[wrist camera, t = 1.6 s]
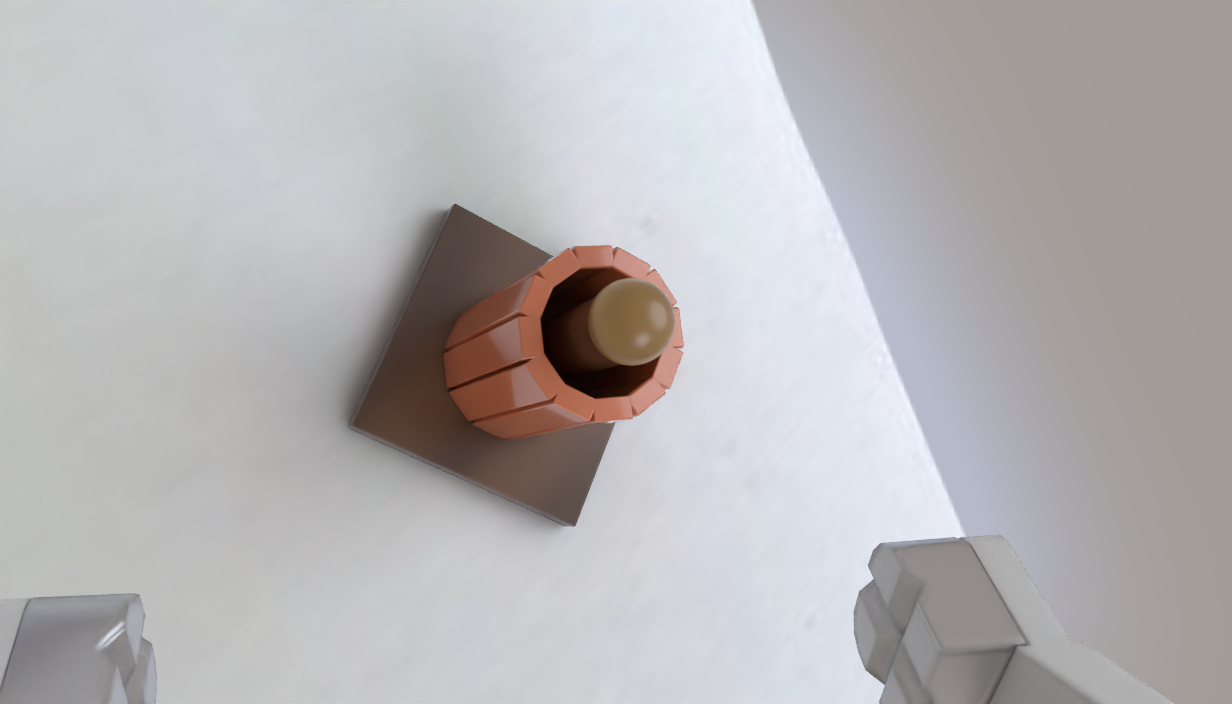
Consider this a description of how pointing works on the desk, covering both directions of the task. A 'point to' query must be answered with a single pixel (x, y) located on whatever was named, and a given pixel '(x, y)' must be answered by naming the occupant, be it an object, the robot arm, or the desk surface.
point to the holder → (573, 343)
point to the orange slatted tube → (519, 370)
